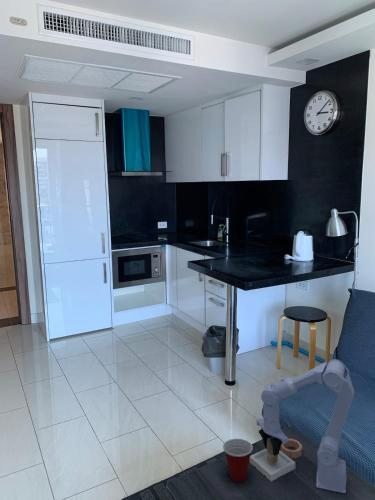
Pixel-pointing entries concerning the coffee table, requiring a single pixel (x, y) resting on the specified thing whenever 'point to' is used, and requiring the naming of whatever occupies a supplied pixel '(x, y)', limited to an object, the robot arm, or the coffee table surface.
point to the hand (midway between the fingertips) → (271, 451)
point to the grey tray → (272, 464)
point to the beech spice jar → (270, 451)
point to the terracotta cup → (292, 453)
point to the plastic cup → (238, 457)
